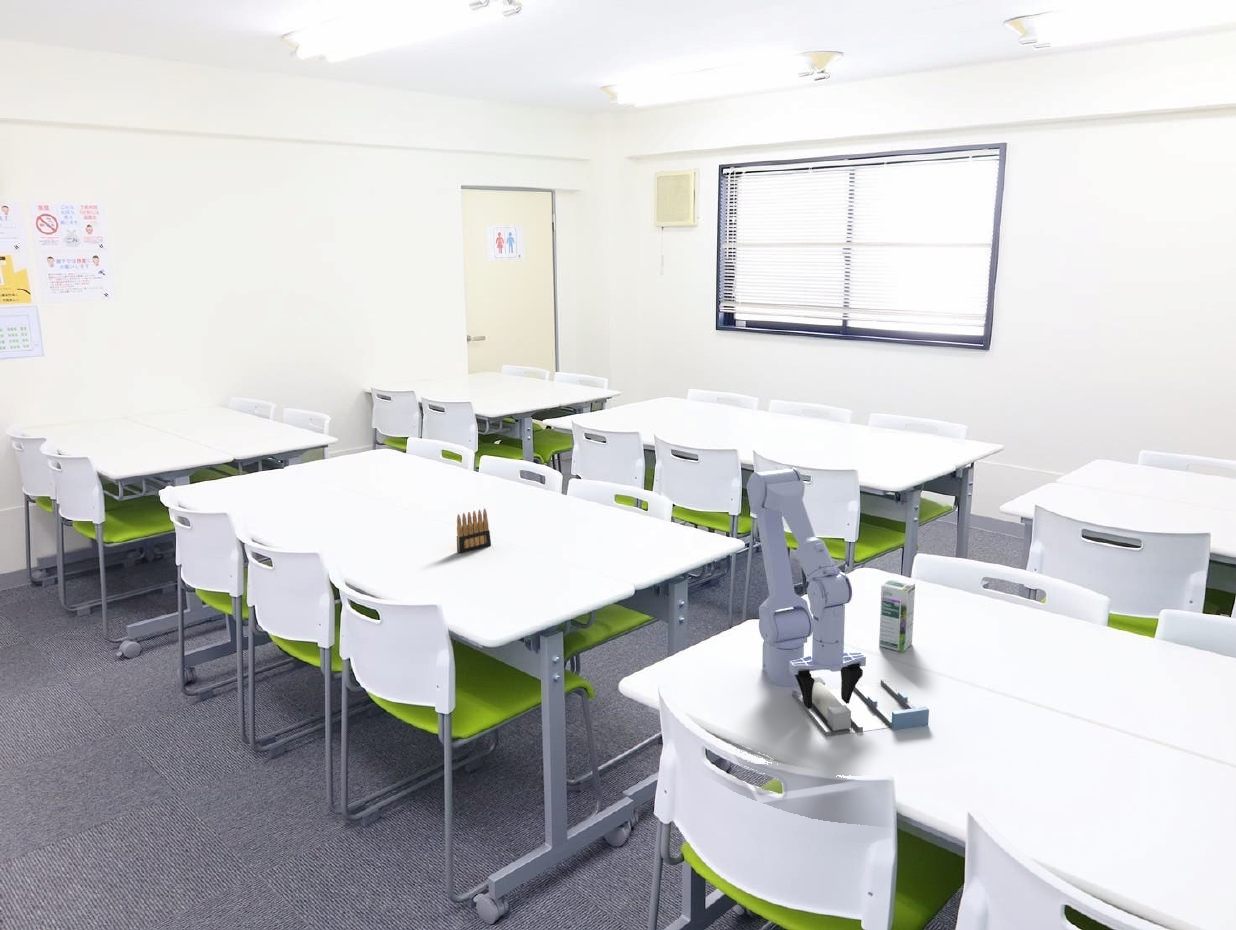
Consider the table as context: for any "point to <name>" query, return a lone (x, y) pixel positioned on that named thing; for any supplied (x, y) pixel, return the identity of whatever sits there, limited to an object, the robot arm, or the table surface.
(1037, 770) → the table surface
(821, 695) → the white rounded long block
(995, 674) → the table surface
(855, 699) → the lane divider tray
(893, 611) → the syrup box
